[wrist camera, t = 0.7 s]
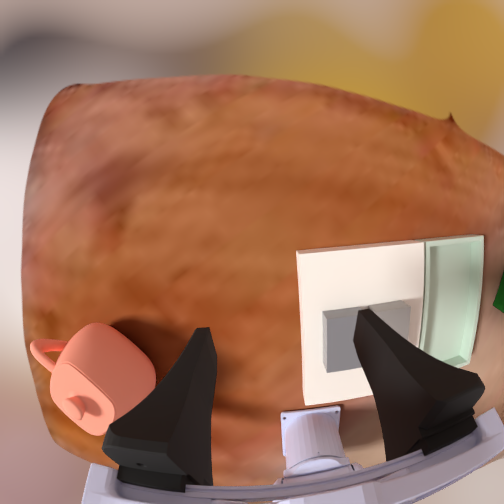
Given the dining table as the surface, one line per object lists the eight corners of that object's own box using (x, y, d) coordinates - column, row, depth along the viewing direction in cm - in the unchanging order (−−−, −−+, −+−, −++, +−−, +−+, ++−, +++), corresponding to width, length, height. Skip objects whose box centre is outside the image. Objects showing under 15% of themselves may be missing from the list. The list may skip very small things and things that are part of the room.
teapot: (159, 430, 34) (131, 485, 22) (60, 347, 34) (11, 380, 21) (206, 384, 32) (181, 449, 20) (87, 286, 32) (24, 312, 20)
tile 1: (397, 349, 27) (405, 358, 25) (366, 355, 28) (372, 365, 25) (401, 299, 27) (410, 306, 24) (368, 305, 27) (376, 312, 24)
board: (403, 373, 31) (411, 384, 28) (302, 391, 32) (305, 405, 29) (411, 239, 29) (424, 242, 26) (296, 250, 30) (299, 254, 27)
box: (460, 356, 30) (469, 363, 27) (406, 373, 31) (413, 382, 28) (471, 234, 28) (483, 235, 25) (414, 239, 29) (425, 241, 26)
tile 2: (357, 356, 28) (363, 367, 25) (322, 361, 28) (326, 373, 25) (359, 306, 27) (366, 313, 25) (322, 311, 27) (326, 319, 25)
